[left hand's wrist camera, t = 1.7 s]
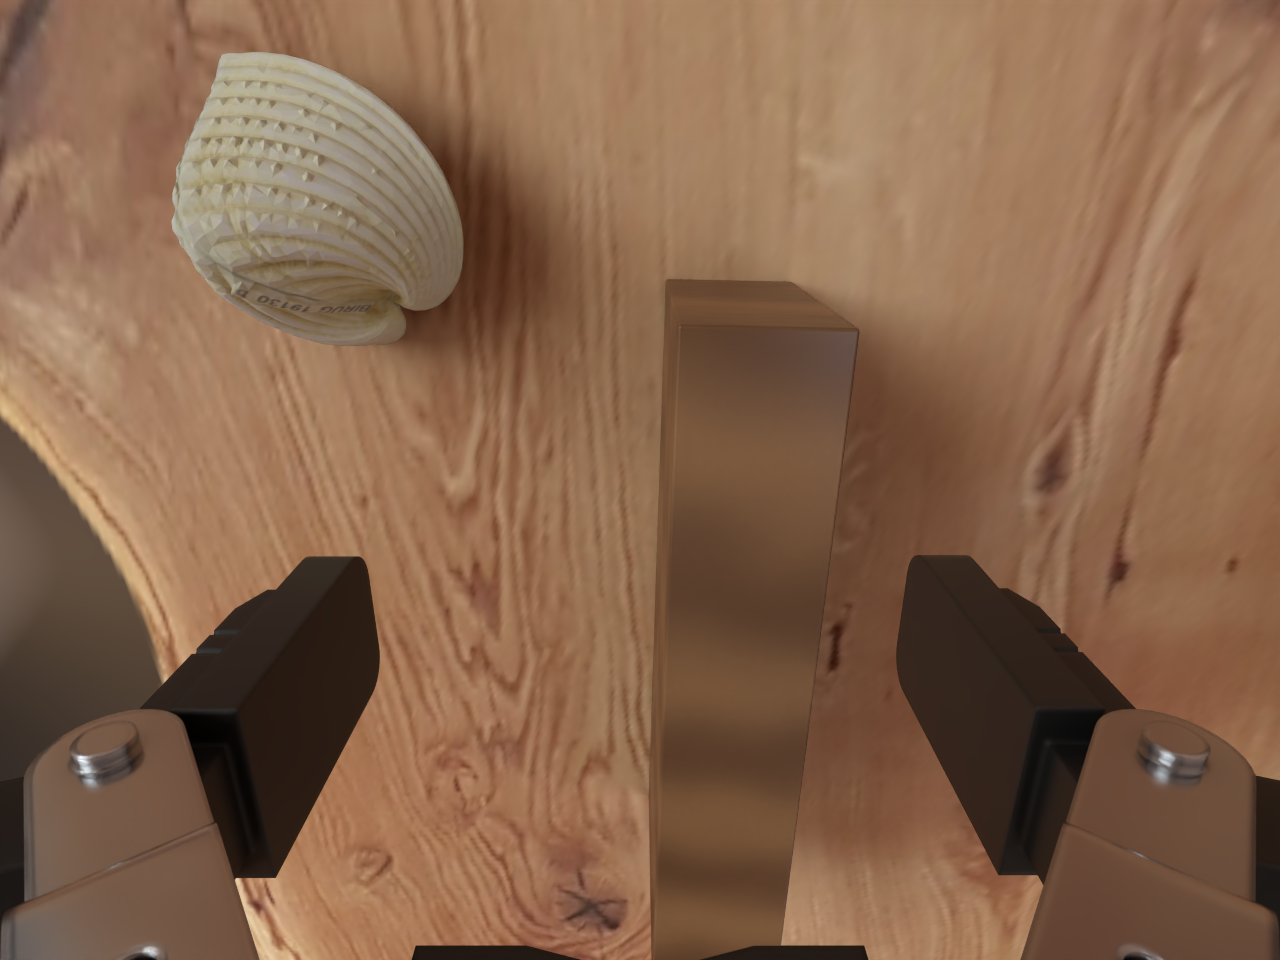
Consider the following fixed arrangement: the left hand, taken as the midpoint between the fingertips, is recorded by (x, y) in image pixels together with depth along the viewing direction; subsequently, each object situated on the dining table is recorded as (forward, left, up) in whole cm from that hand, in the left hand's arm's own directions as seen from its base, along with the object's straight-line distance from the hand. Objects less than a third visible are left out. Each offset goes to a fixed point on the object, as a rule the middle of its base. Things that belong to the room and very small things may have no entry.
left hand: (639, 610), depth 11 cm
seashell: (+3, -10, -19) cm, 22 cm away
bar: (+5, +9, -19) cm, 21 cm away
